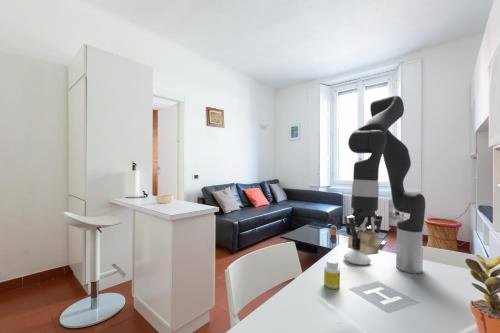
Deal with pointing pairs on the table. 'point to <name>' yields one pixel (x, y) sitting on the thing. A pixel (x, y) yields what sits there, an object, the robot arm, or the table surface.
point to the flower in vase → (357, 257)
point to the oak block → (366, 242)
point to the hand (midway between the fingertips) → (362, 248)
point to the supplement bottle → (332, 275)
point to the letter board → (383, 296)
